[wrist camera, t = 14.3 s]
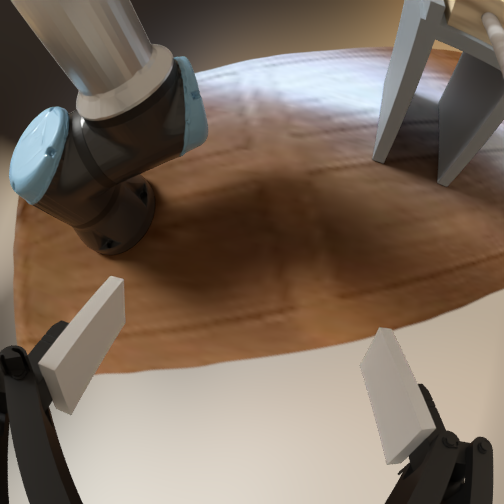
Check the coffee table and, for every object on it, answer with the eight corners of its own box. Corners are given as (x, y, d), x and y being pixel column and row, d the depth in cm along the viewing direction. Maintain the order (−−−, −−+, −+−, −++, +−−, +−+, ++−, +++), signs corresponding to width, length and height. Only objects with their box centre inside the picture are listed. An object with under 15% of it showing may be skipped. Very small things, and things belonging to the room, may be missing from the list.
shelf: (447, 186, 43) (546, 59, 13) (372, 159, 46) (426, -5, 16) (447, 106, 47) (501, -12, 17) (384, 82, 50) (413, -50, 20)
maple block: (547, 205, 13) (598, 168, 7) (465, 161, 15) (511, 103, 9) (494, 20, 19) (507, -13, 13) (438, -6, 20) (447, -43, 14)
